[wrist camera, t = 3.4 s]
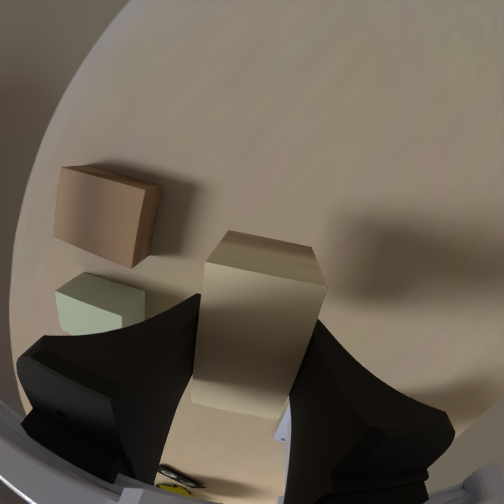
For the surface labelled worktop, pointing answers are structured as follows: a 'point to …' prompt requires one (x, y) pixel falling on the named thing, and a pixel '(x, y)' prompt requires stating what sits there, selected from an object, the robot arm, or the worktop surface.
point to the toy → (179, 479)
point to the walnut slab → (106, 213)
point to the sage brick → (98, 305)
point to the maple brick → (254, 323)
